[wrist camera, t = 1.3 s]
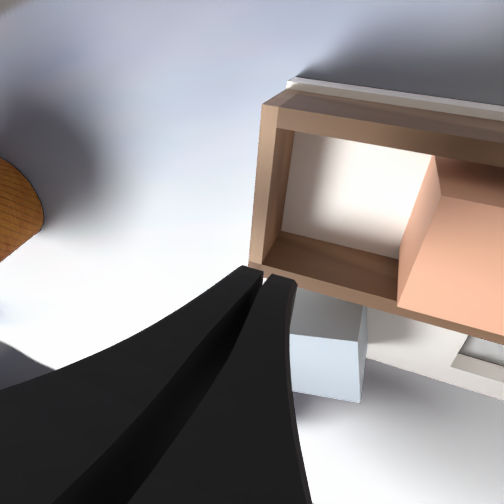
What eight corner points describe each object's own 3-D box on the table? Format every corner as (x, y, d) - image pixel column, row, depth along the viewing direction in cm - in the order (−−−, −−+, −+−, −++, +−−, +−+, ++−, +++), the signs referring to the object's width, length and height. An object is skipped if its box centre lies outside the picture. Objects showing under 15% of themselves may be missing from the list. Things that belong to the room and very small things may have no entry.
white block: (367, 344, 21) (360, 403, 18) (298, 336, 22) (280, 389, 19) (366, 286, 19) (357, 341, 16) (290, 282, 20) (269, 331, 17)
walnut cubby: (497, 297, 17) (513, 347, 14) (268, 239, 19) (247, 273, 17) (595, 134, 13) (641, 165, 10) (286, 88, 15) (261, 104, 13)
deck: (628, 422, 19) (639, 443, 18) (264, 311, 24) (258, 324, 23) (927, 165, 11) (975, 179, 10) (294, 76, 16) (287, 81, 15)
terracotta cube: (506, 270, 16) (533, 344, 12) (399, 245, 17) (396, 306, 14) (563, 173, 13) (618, 230, 10) (433, 150, 15) (441, 195, 11)
